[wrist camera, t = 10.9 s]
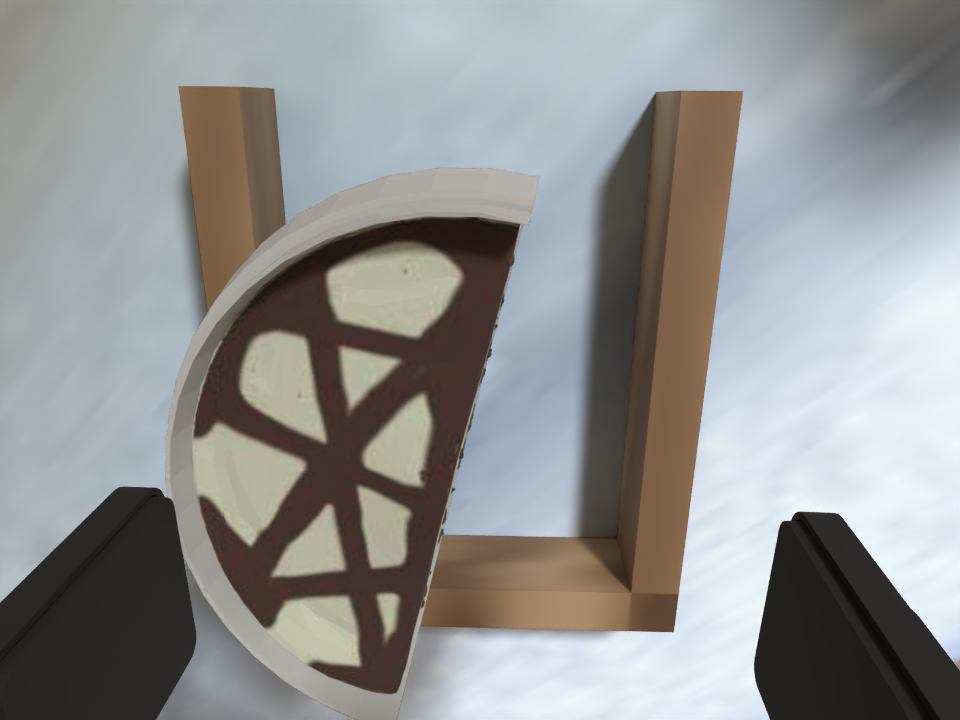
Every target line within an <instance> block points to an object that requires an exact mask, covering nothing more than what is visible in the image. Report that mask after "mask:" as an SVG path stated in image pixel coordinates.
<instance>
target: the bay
mask: <svg viewBox="0 0 960 720" xmlns="http://www.w3.org/2000/svg"><path fill="white" fill-rule="evenodd" d="M179 94H180V101H181V109H182V117H183V125H184V132H185V140H186V148H187V156H188V164H189V171H190V179H191V187H192V195H193V202H194V210H195V218H196V226H197V233H198V241H199V249H200V257H201V264H202V272H203V280H204V288H205V296H206V303H207V311H208V312H209V310H210V308H211V307H212V305H213V303H214V302H215V300H216V299H217V297H218V296H219V295H220V293H221V292H222V290H223V289H224V287H225V286H226V284H227V283H228V282H229V280H230V279H231V277H232V276H233V275H234V274H235V273H236V271H237V270H238V269H239V268H240V267H241V266H242V265H243V264H244V262H245V261H246V260H247V259H248V258H249V257H250V256H251V255H252V254H253V252H254V251H255V250H256V249H257V248H258V247H259V246H260V245H261V243H262V242H264V241H265V240H266V239H267V238H269V237H270V236H271V235H273V234H274V233H275V232H276V231H278V230H279V229H280V228H282V227H283V226H284V225H285V212H284V200H283V189H282V177H281V165H280V154H279V142H278V130H277V118H276V107H275V95H274V89H270V88H251V87H205V86H179ZM742 95H743V91H669V92H656V98H655V110H654V121H653V132H652V143H651V155H650V166H649V177H648V189H647V200H646V211H645V223H644V234H643V245H642V256H641V268H640V279H639V290H638V302H637V313H636V324H635V336H634V347H633V358H632V369H631V381H630V392H629V403H628V415H627V426H626V437H625V449H624V460H623V471H622V482H621V494H620V505H619V516H618V528H617V539H612V538H565V537H518V536H471V535H442V539H441V543H440V547H439V551H438V555H437V559H436V563H435V567H434V571H433V576H432V580H431V584H430V588H429V592H428V596H427V600H426V604H425V608H424V612H423V616H422V620H421V624H420V626H435V627H477V628H520V629H562V630H604V631H646V632H674V626H675V618H676V610H677V602H678V594H679V587H680V579H681V571H682V563H683V555H684V548H685V540H686V532H687V524H688V516H689V509H690V501H691V493H692V485H693V477H694V469H695V462H696V454H697V446H698V438H699V430H700V423H701V415H702V407H703V399H704V391H705V384H706V376H707V368H708V360H709V352H710V345H711V337H712V329H713V321H714V313H715V305H716V298H717V290H718V282H719V274H720V266H721V259H722V251H723V243H724V235H725V227H726V220H727V212H728V204H729V196H730V188H731V181H732V173H733V165H734V157H735V149H736V142H737V134H738V126H739V118H740V110H741V102H742Z"/></svg>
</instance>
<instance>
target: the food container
mask: <svg viewBox="0 0 960 720" xmlns="http://www.w3.org/2000/svg"><path fill="white" fill-rule="evenodd" d="M539 178H540V176H534V175H528V174H521V173H515V172H509V171H503V170H497V169H491V168H436V169H429V170H423V171H416V172H410V173H403V174H397V175H391V176H386V177H383V178H380V179H377V180H374V181H371V182H368V183H365V184H362V185H359V186H356V187H353V188H350V189H347V190H344V191H341V192H339V193H337V194H335V195H333V196H332V197H330V198H328V199H326V200H324V201H322V202H320V203H319V204H317V205H315V206H313V207H311V208H309V209H307V210H305V211H304V212H302V213H300V214H298V215H297V216H296V217H294V218H293V219H292V220H290V221H289V222H288V223H287V224H285V225H284V226H283V227H282V228H280V229H279V230H278V231H276V232H275V233H274V234H273V235H271V236H270V237H269V238H267V239H266V240H265V241H264V242H262V243H261V245H260V246H259V247H258V248H257V249H256V250H255V251H254V252H253V254H252V255H251V256H250V257H249V258H248V259H247V260H246V261H245V262H244V264H243V265H242V266H241V267H240V268H239V269H238V270H237V271H236V273H235V274H234V275H233V276H232V277H231V279H230V280H229V282H228V283H227V284H226V286H225V287H224V289H223V290H222V292H221V293H220V295H219V296H218V297H217V299H216V300H215V302H214V303H213V305H212V307H211V308H210V310H209V312H208V313H207V315H206V316H205V318H204V320H203V321H202V323H201V325H200V326H199V328H198V329H197V331H196V333H195V334H194V336H193V337H192V339H191V342H190V345H189V347H188V350H187V352H186V355H185V357H184V360H183V363H182V365H181V368H180V370H179V373H178V375H177V378H176V382H175V388H174V393H173V398H172V403H171V408H170V413H169V419H168V430H167V435H166V461H165V481H166V488H167V494H168V498H170V499H171V500H172V501H173V503H174V507H175V512H176V518H177V524H178V530H179V536H180V542H181V547H182V552H183V555H184V558H185V560H186V562H187V564H188V566H189V568H190V570H191V572H192V574H193V576H194V578H195V580H196V582H197V584H198V586H199V587H200V589H201V591H202V593H203V595H204V596H205V598H206V599H207V601H208V602H209V603H210V605H211V606H212V608H213V609H214V610H215V612H216V613H217V615H218V616H219V617H220V619H221V620H222V622H223V623H224V624H225V626H226V627H227V628H228V629H229V630H230V631H231V632H232V634H233V635H234V636H235V637H236V638H237V639H238V640H239V641H240V642H241V643H242V644H243V645H244V646H245V647H246V648H247V649H248V650H249V651H250V653H251V654H252V655H253V656H254V657H255V658H257V659H258V660H259V661H260V662H262V663H263V664H264V665H265V666H267V667H268V668H269V669H270V670H271V671H273V672H274V673H275V674H276V675H278V676H279V677H280V678H281V679H283V680H284V681H285V682H286V683H288V684H290V685H291V686H293V687H294V688H296V689H298V690H299V691H301V692H302V693H304V694H306V695H307V696H309V697H310V698H312V699H314V700H315V701H317V702H319V703H320V704H322V705H324V706H326V707H329V708H331V709H333V710H335V711H337V712H340V713H342V714H344V715H346V716H348V717H350V718H353V719H355V720H397V717H398V713H399V709H400V705H401V701H402V697H403V693H404V689H405V685H406V681H407V677H408V673H409V669H410V665H411V661H412V656H413V652H414V648H415V644H416V640H417V636H418V632H419V628H420V624H421V620H422V616H423V612H424V608H425V604H426V600H427V596H428V592H429V588H430V584H431V580H432V576H433V571H434V567H435V563H436V559H437V555H438V551H439V547H440V543H441V539H442V535H443V534H444V532H443V531H444V527H445V523H446V519H447V515H448V511H449V507H450V503H451V499H452V495H453V491H454V490H455V488H454V486H455V482H456V478H457V474H458V470H459V468H460V463H461V459H462V458H463V451H464V448H465V444H466V440H467V436H468V432H469V430H470V427H471V421H472V418H473V413H474V410H475V406H476V402H477V398H478V394H479V391H480V387H481V383H482V379H483V377H484V375H485V371H486V369H485V368H486V364H487V360H488V358H489V357H490V356H491V351H492V349H491V345H492V341H493V337H494V334H495V330H496V328H497V326H498V325H497V322H498V318H499V315H500V311H501V307H502V304H503V302H504V296H505V292H506V288H507V284H508V281H509V277H510V273H511V269H512V265H513V263H514V258H515V254H516V250H517V246H518V243H519V239H520V235H521V231H522V227H523V224H524V225H529V223H530V218H531V212H532V209H533V205H534V201H535V197H536V192H537V188H538V183H539Z"/></svg>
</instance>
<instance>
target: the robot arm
mask: <svg viewBox="0 0 960 720" xmlns="http://www.w3.org/2000/svg"><path fill="white" fill-rule="evenodd" d="M195 645H196V630H195V624H194V618H193V612H192V606H191V600H190V595H189V589H188V583H187V577H186V571H185V565H184V559H183V553H182V547H181V542H180V536H179V530H178V524H177V518H176V512H175V507H174V503H173V501H172V500H171V499H170V498H166V497H164V494H163V493H162V491H161V490H160V489H158V488H147V487H119V488H117V489H116V490H114V491H113V492H112V493H111V494H110V495H109V496H108V497H107V498H106V499H105V500H104V501H103V502H102V503H101V504H100V505H99V506H98V507H97V508H96V509H95V510H94V511H93V512H92V513H91V514H90V515H89V516H88V517H87V518H86V519H85V520H84V521H83V522H82V523H81V524H80V525H79V526H78V527H77V528H76V529H75V530H74V531H73V532H72V533H71V534H70V535H69V536H68V537H67V538H66V539H65V540H64V541H63V542H62V543H60V544H59V545H58V546H57V547H56V548H55V549H54V550H53V551H52V552H51V553H50V554H49V555H48V556H47V557H46V558H45V559H44V560H43V561H42V562H41V563H40V564H39V565H38V566H37V567H36V568H35V569H34V570H33V571H32V572H31V573H30V574H29V575H28V576H27V577H26V578H25V579H24V580H23V581H22V582H21V583H20V584H19V585H18V586H17V587H16V588H15V589H14V590H13V591H12V592H11V593H10V594H9V595H8V596H7V597H6V598H5V599H4V600H3V601H1V602H0V720H156V719H157V717H158V715H159V713H160V712H161V710H162V708H163V707H164V705H165V703H166V701H167V700H168V698H169V696H170V695H171V693H172V691H173V689H174V688H175V686H176V684H177V682H178V681H179V679H180V677H181V676H182V674H183V672H184V670H185V669H186V667H187V665H188V664H189V662H190V660H191V658H192V656H193V653H194V650H195ZM754 672H755V679H756V684H757V687H758V690H759V692H760V695H761V697H762V700H763V702H764V705H765V707H766V710H767V713H768V715H769V718H770V720H960V671H959V669H958V668H957V667H956V665H955V664H954V663H953V661H952V660H951V659H950V657H949V656H948V655H947V653H946V652H945V651H944V649H943V648H942V647H941V645H940V644H939V643H938V641H937V640H936V639H935V637H934V636H933V635H932V633H931V632H930V631H929V629H928V628H927V627H926V625H925V624H924V623H923V621H922V620H921V619H920V617H919V616H918V615H917V614H916V613H915V612H914V611H913V610H912V609H910V607H909V606H908V605H907V603H906V602H905V601H904V599H903V598H902V597H901V595H900V594H899V593H898V591H897V590H896V589H895V587H894V586H893V585H892V583H891V582H890V581H889V579H888V578H887V577H886V575H885V574H884V573H883V571H882V570H881V569H880V567H879V566H878V565H877V563H876V562H875V561H874V559H873V558H872V557H871V555H870V554H869V553H868V551H867V550H866V549H865V547H864V546H863V545H862V543H861V542H860V541H859V539H858V538H857V537H856V535H855V534H854V533H853V531H852V530H851V529H850V527H849V526H848V525H847V523H846V522H845V521H844V519H843V518H842V517H841V516H840V515H839V514H836V513H820V512H797V513H795V514H794V516H793V517H792V520H791V521H783V522H782V523H781V525H780V528H779V532H778V538H777V543H776V548H775V554H774V559H773V564H772V570H771V575H770V580H769V585H768V591H767V596H766V601H765V607H764V612H763V617H762V623H761V628H760V633H759V639H758V644H757V649H756V655H755V661H754Z"/></svg>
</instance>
